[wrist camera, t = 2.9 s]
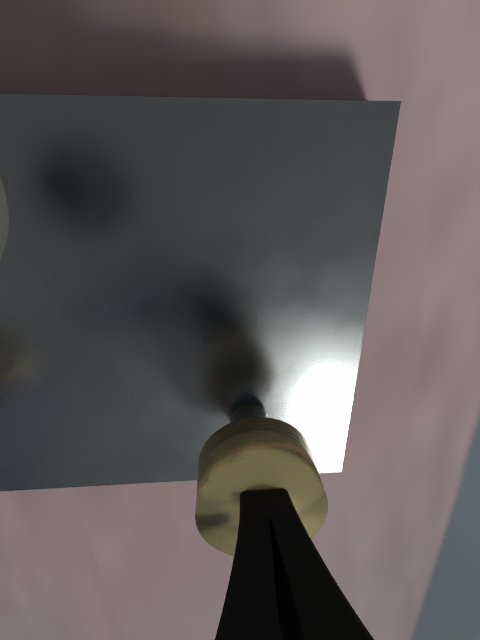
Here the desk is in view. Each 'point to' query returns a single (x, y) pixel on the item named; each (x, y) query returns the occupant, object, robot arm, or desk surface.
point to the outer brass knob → (254, 474)
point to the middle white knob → (4, 213)
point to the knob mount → (181, 277)
